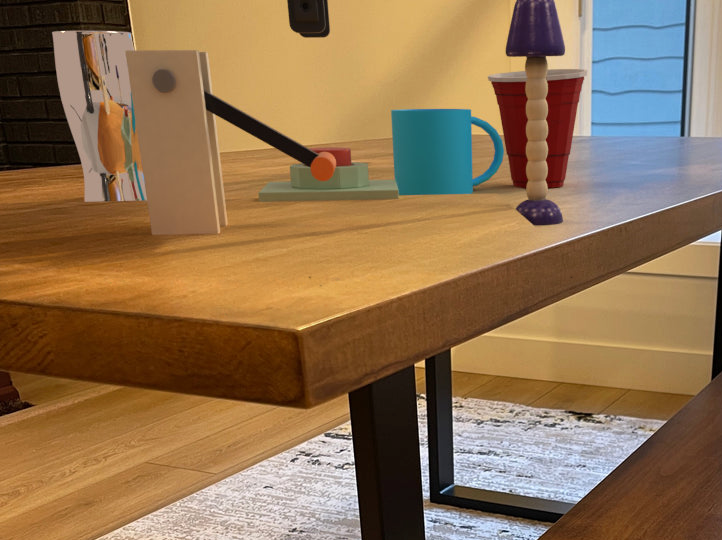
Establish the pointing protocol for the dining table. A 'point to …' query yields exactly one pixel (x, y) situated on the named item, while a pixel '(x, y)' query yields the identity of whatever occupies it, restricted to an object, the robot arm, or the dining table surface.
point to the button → (337, 154)
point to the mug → (438, 151)
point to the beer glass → (101, 112)
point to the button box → (329, 186)
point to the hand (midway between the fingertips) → (311, 35)
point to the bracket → (177, 141)
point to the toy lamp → (536, 97)
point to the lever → (273, 137)
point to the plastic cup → (559, 119)
